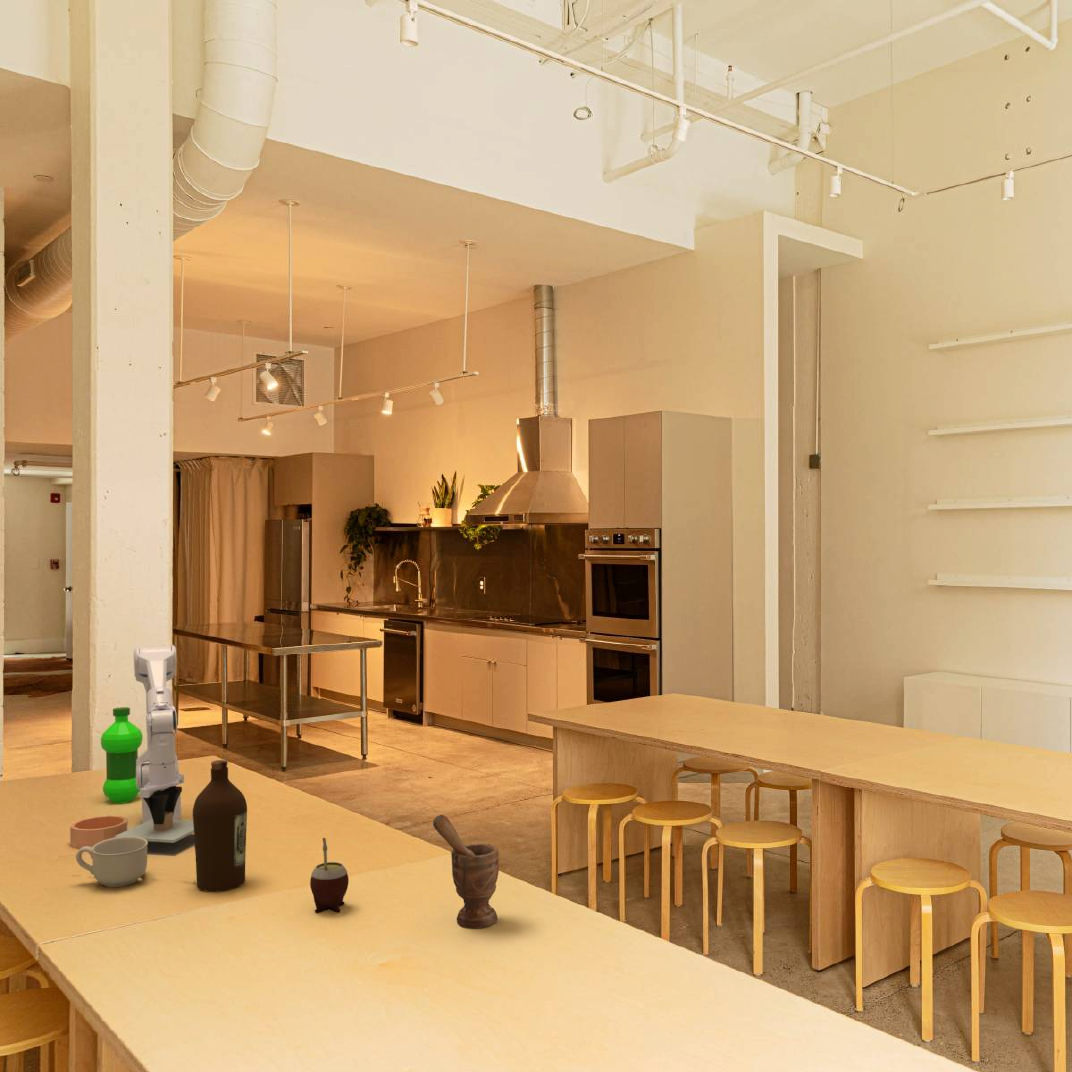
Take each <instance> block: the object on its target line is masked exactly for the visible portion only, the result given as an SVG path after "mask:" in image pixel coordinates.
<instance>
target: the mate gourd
mask: <svg viewBox="0 0 1072 1072" xmlns="http://www.w3.org/2000/svg"><path fill="white" fill-rule="evenodd" d="M322 844H323V845H322V851H323V863H319V864H317V865H316V866H315V867H314V869H312V872H311V875H310V878H309V879H310V881H309V884H310V885H309V886H310V890H311V894H312V895H313V900H314V905H315V908H316V909H315V910H314V912H315V914H319V913H323V912H326V911H332V912H333V913H336V914H339V913H341V911H342V909H340V907H343V906H345V901H344V897H345V895H346V894H347V891H348V888H349V882H350V881H349V874H348V870H347V869H346V867H345V866H344V864H342V863H341V862H335V861H331V862H330V861H329V862H328V845H327V838H326V837H322Z"/></svg>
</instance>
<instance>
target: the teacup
mask: <svg viewBox="0 0 1072 1072" xmlns="http://www.w3.org/2000/svg"><path fill="white" fill-rule="evenodd" d="M147 845H148V841H147V840H146V839H144V838H141V837H134V836H125V837H116V838H111V839H107V840H103V841H101V842H99V843H97V844H95V845H94V846H93V847H89V846H85V847H82V848H80V849H79V848H78V849H79V850H77V852H76V855H75V859H76V862H77V864H78V865H79V867H81V868H82V869H85V870H87V871H89V872H90V874H91V875H93V877H94V879H95V880H96V881H97V882H98V883H101V884H102V885H103V886H105V887H109V888H120V887H125V886H130V885H132V884H134V883H136V882H137V881H138V880H139V879H140V878H142V876H143V875H144V874H145V873H146V871H147V868H148V867H147V866H148V854H147ZM83 853H88V854H89V855H90V858H91V860H92V865H91V864H89V863H87V862H86V861H85V860H84V859H83V857H82V854H83Z"/></svg>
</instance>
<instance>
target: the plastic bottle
mask: <svg viewBox="0 0 1072 1072" xmlns="http://www.w3.org/2000/svg"><path fill="white" fill-rule="evenodd" d="M130 715H131V707H128V706H127V707H124V706H122V707H115V708H113V709H112V716H113V717H115V718H114V722H113V723H112V724H111V725H110V726H109V727H107V729H105V731H104V732H103V733H102V735H101V737H100V744H101V748H102V750H103V751H105V755H106V762H105V763H106V769H105V770H106V779H105V781H104V783H103V786H102V793H103V795H104V796H105V797H106V798H107V799H108V800H109V801H111V802H112V803H114V804H124V803H125V804H126V803H130V802H133V800H134V799H135V798H136V797H137V796H138V795H139V794H140V789H138V788H137V787H136V760H137V758H138V756H139V755H138V754H139V753H138V752H139V751H138V749H139V748H140V747H141V745H142V742H143V733H142V730H141V729H140V728H139V727H138V726H136V724H134V723H132V722H131V721H129V716H130Z"/></svg>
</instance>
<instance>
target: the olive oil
mask: <svg viewBox="0 0 1072 1072" xmlns="http://www.w3.org/2000/svg"><path fill="white" fill-rule="evenodd" d="M210 766H211V768H210V781H209V783H207V785H206V786H205V787H204V788H203V789H202V791H201V792H200V793H199V794H198V795H197V797H196V798H195V800H194V803H193V807H192V820H193V826H194V833H193V834H194V840H195V846H194V852H195V853H194V854H195V871H196V872H195V873H196V875H195V877H196V887H197V888H198V890H201V891H205V892H212V893H215V892H224V891H225V892H226V891H231V890H234V889H237V888H240V887H242V885H244V883H245V882H246V856H247V855H246V854H247V853H246V847H247V824H248V823H247V821H248V805H247V801H246V798H245V795H244V794H243V792H242V791H241V790H240V789H239V788H238V787H237V786H236V785H234V784H233V782H231V780H229V767H228V760H226V759H218V760H212V761H211V763H210Z"/></svg>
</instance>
